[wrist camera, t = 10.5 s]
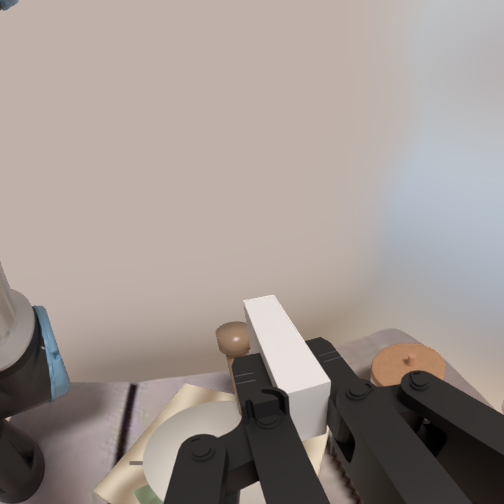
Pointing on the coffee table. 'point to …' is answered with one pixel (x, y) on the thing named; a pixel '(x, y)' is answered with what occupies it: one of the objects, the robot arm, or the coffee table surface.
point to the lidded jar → (405, 363)
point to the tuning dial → (200, 423)
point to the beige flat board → (131, 464)
